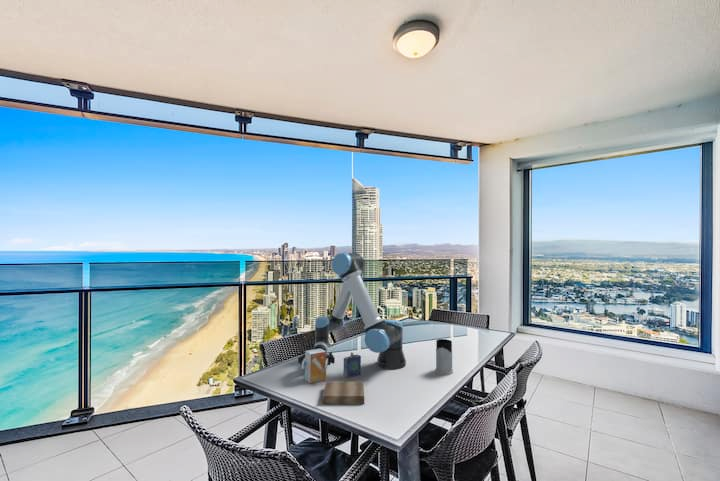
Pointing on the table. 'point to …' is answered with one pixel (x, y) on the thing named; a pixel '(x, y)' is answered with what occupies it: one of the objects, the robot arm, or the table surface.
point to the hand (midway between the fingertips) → (314, 366)
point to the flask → (352, 366)
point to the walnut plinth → (343, 393)
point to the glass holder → (444, 357)
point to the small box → (315, 365)
